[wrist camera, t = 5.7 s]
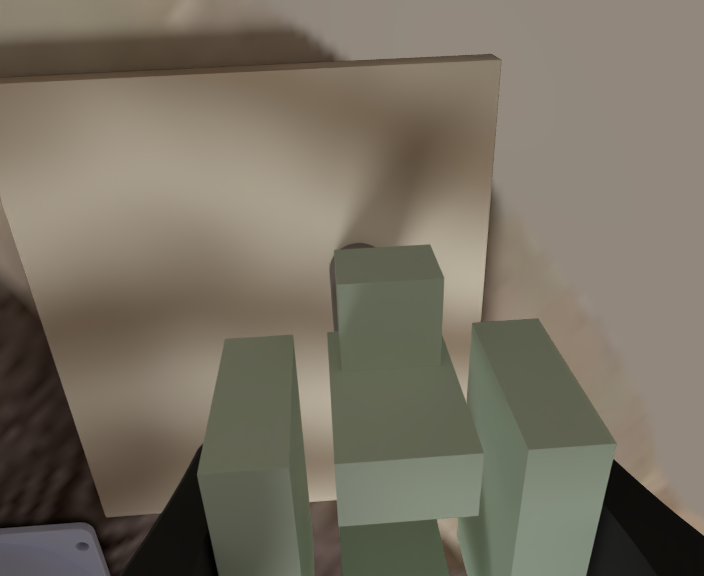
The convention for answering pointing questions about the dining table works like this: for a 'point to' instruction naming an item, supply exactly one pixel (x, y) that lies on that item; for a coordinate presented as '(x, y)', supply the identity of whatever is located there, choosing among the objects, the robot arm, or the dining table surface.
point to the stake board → (231, 232)
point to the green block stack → (406, 440)
